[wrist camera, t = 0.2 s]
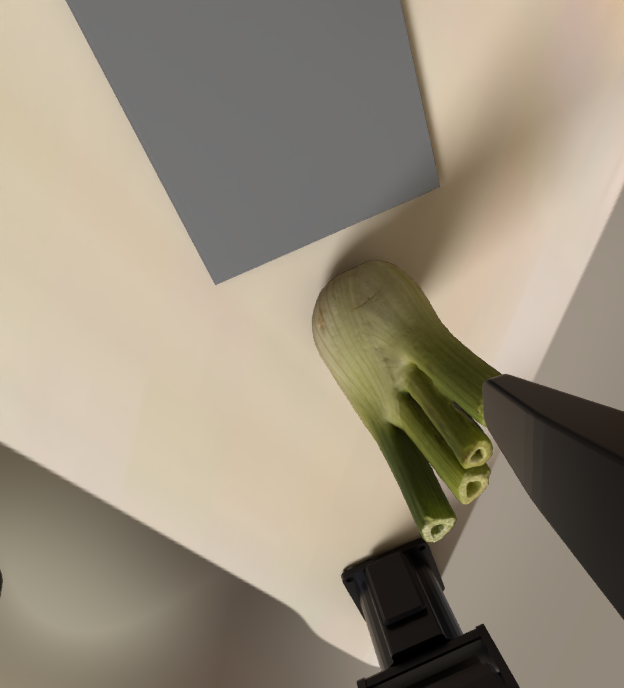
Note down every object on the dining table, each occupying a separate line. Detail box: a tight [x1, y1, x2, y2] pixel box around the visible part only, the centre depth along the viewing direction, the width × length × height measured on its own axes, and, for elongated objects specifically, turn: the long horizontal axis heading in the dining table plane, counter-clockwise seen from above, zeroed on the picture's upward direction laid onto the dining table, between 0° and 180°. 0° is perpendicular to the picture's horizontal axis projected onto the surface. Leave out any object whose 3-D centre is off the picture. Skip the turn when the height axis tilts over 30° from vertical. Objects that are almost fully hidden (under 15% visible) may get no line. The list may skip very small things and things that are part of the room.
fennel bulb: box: [312, 260, 502, 542], centre depth 18 cm, size 6×5×12 cm
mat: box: [66, 0, 440, 285], centre depth 18 cm, size 12×11×1 cm
